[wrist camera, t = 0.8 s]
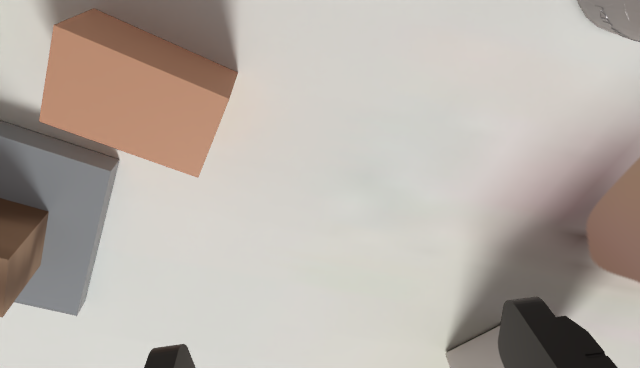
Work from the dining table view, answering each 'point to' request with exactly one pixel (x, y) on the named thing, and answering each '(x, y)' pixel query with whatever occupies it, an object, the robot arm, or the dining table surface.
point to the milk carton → (477, 352)
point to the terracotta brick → (134, 91)
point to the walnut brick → (19, 248)
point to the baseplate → (58, 210)
